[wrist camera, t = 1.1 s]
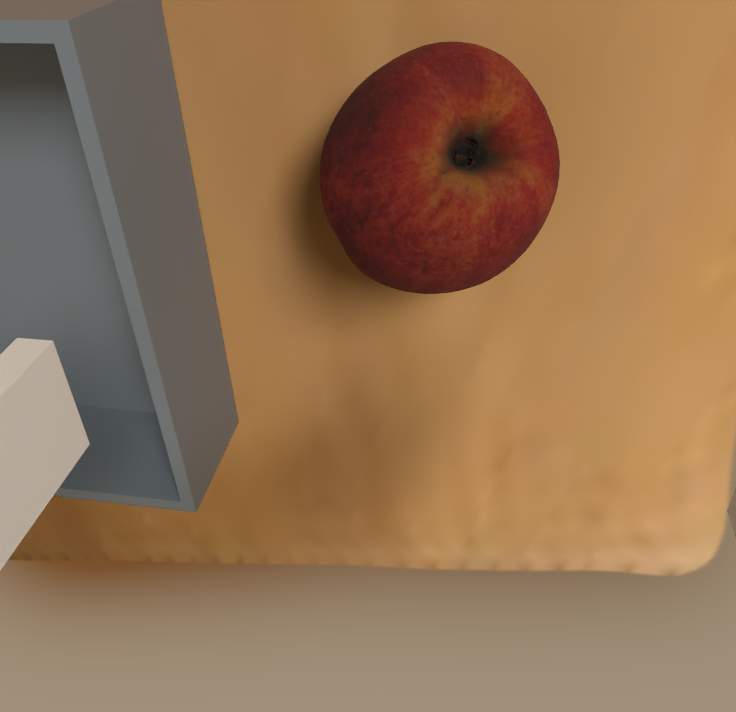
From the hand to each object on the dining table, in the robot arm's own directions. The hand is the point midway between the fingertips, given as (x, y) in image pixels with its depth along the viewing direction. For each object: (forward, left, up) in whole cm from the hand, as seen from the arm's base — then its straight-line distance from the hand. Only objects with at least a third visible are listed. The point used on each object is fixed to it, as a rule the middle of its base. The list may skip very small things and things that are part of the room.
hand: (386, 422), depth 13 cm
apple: (0, 0, -16) cm, 16 cm away
